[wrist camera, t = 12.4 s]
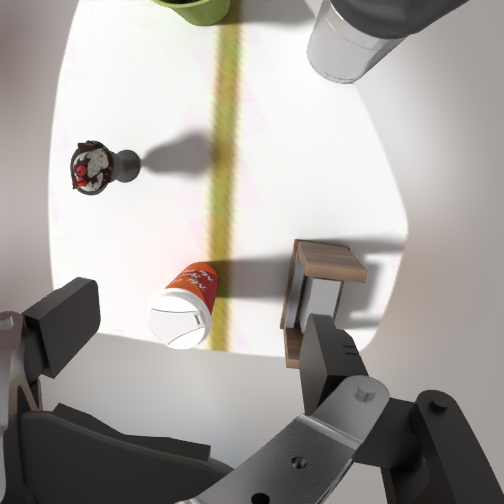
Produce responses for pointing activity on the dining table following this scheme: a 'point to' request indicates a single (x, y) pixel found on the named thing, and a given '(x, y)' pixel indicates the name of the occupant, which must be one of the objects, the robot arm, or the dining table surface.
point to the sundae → (101, 167)
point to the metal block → (318, 298)
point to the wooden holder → (316, 265)
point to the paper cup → (184, 307)
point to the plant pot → (198, 10)
